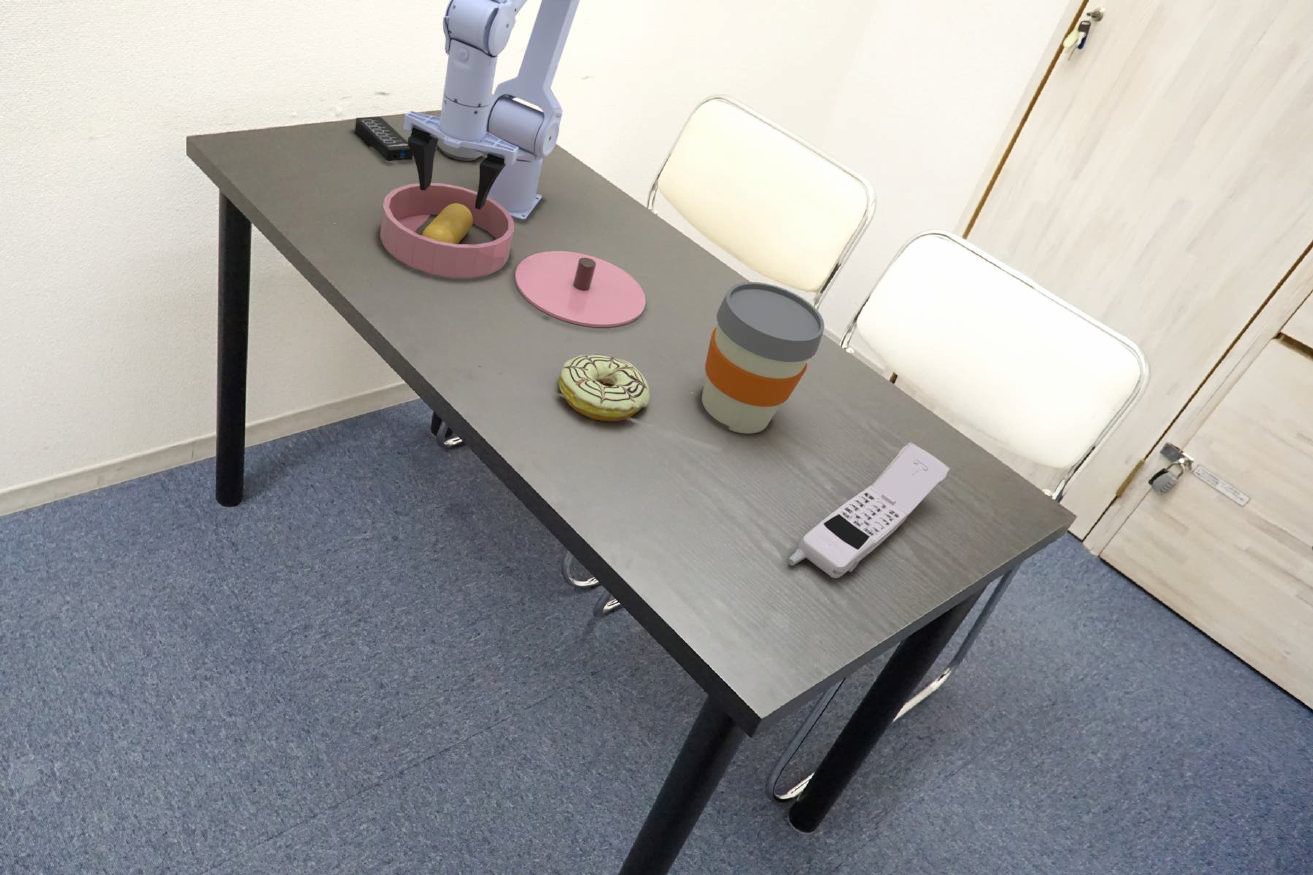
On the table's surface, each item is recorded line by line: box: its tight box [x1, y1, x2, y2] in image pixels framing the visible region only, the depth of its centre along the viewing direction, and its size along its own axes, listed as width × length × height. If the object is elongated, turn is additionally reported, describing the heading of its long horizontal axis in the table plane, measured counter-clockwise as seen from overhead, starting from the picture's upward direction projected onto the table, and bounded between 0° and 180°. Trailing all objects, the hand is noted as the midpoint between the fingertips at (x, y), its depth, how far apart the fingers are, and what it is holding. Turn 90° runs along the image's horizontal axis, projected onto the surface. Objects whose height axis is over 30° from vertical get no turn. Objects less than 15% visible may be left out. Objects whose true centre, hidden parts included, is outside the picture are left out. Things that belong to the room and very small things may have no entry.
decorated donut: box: [558, 353, 651, 422], centre depth 112 cm, size 10×11×4 cm
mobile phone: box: [787, 441, 951, 579], centre depth 106 cm, size 6×6×25 cm
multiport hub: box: [354, 116, 414, 162], centre depth 148 cm, size 4×11×2 cm, turn 41°
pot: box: [379, 182, 515, 279], centre depth 129 cm, size 17×17×5 cm
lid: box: [514, 250, 647, 328], centre depth 130 cm, size 18×18×5 cm
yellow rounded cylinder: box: [421, 203, 474, 244], centre depth 129 cm, size 12×4×4 cm, turn 170°
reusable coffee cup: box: [701, 281, 825, 435], centre depth 115 cm, size 13×13×15 cm
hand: (452, 197), depth 126 cm, fingers open, 7 cm apart
